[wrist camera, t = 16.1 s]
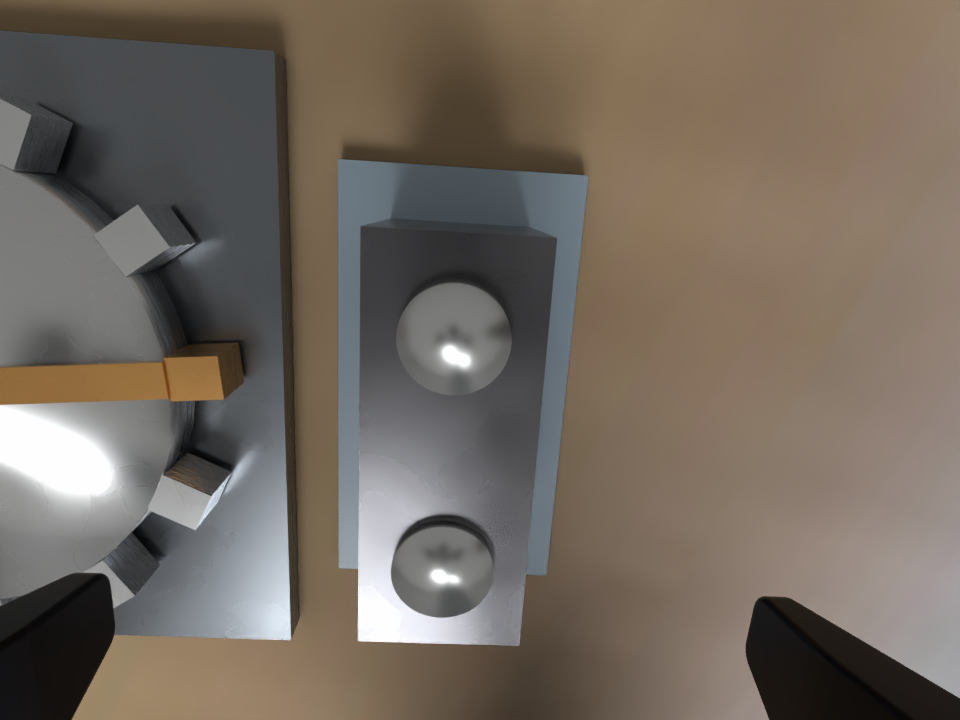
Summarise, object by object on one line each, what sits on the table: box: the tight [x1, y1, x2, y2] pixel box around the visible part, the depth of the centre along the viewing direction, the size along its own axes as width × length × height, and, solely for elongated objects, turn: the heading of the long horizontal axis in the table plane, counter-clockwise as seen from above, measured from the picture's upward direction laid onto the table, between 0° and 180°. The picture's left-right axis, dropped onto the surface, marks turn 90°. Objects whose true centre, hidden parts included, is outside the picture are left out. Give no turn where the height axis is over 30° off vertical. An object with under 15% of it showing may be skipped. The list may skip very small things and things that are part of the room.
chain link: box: [358, 218, 557, 646], centre depth 15 cm, size 4×10×5 cm, turn 177°
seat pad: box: [338, 159, 588, 576], centre depth 18 cm, size 7×13×1 cm, turn 176°
